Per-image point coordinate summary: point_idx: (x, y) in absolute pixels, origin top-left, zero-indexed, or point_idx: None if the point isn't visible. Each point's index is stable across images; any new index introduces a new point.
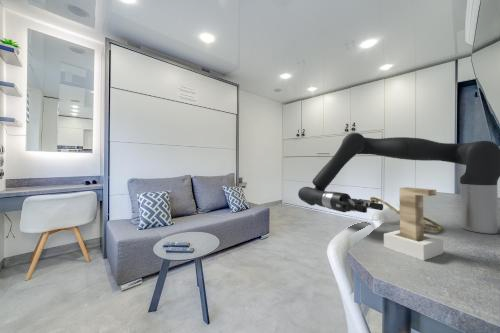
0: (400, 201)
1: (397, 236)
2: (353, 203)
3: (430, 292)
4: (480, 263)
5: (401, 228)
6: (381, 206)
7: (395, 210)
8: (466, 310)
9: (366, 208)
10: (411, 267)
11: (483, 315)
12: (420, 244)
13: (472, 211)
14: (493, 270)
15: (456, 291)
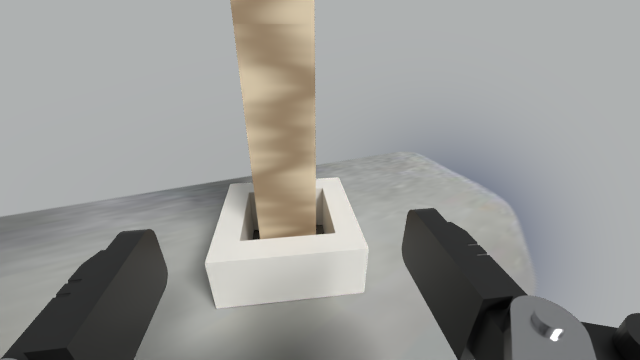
0: (314, 75)
1: (342, 219)
2: (550, 327)
3: (434, 172)
4: None
5: (314, 197)
6: (156, 247)
7: None
8: (420, 157)
9: (413, 221)
10: (398, 205)
11: (409, 153)
12: (339, 181)
13: None
14: None
15: (392, 168)
